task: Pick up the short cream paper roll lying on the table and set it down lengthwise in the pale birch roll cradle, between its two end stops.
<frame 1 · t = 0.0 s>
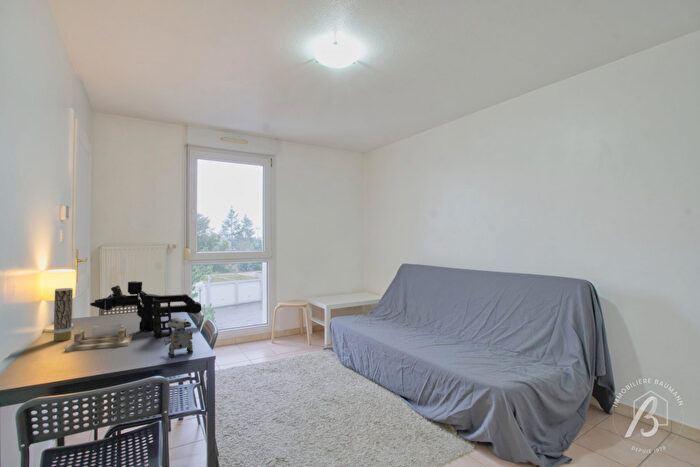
hand: (92, 302, 185), 17 cm above the table, tool horizontal, fingers open, 9 cm apart
paper roll: (107, 337, 181), on the table
holder: (161, 337, 181), on the table
bark textured pillar: (62, 340, 175), on the table
figurine: (178, 354, 156), on the table
roll cradle: (101, 344, 168), on the table
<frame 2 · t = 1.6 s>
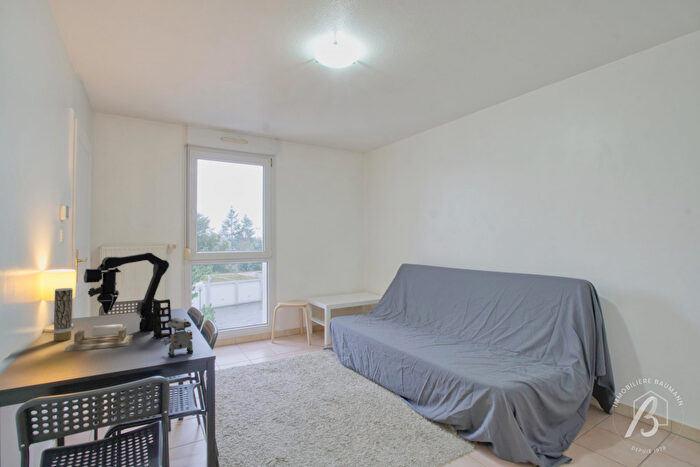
hand: (108, 312, 181), 13 cm above the table, tool pointing down, fingers open, 9 cm apart
nothing on the table moved.
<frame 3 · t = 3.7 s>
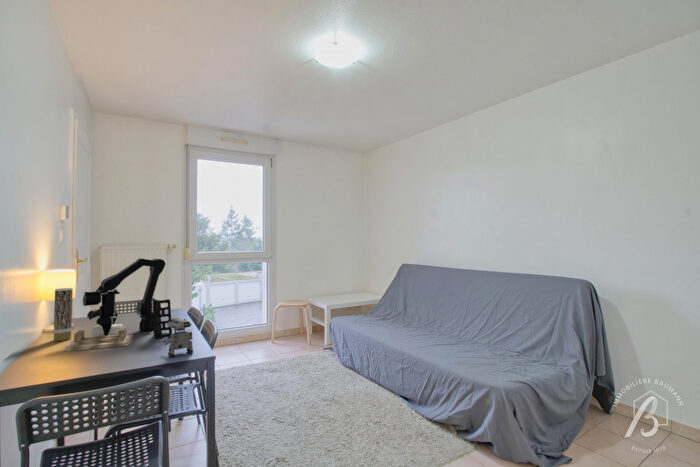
hand: (107, 334, 181), 1 cm above the table, tool pointing down, fingers closed on paper roll, 6 cm apart
paper roll: (107, 336, 181), on the table, touching gripper
everything else where it was.
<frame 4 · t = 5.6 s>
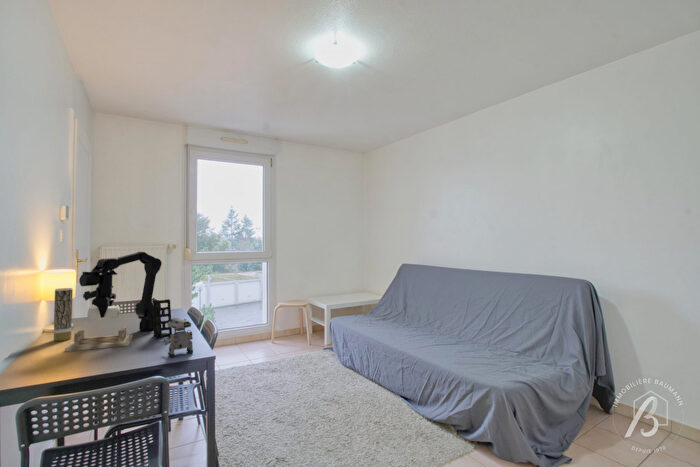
hand: (103, 316, 174), 12 cm above the table, tool pointing down, fingers closed on paper roll, 6 cm apart
paper roll: (103, 319, 174), point 11 cm above the table, touching gripper
everything else where it was.
when the fingers open (5 cm above the table, at t = 8.0 s): paper roll drops 2 cm, resting on roll cradle.
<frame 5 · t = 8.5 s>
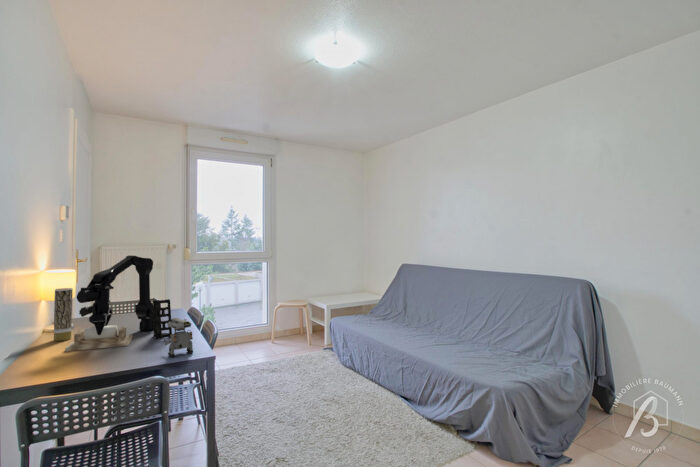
hand: (101, 332, 168), 5 cm above the table, tool pointing down, fingers open, 9 cm apart
paper roll: (101, 339, 168), point 2 cm above the table, touching roll cradle
everything else where it was.
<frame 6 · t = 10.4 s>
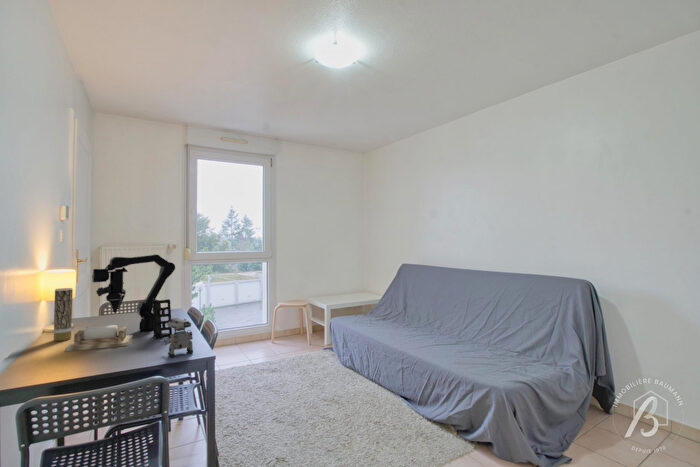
hand: (116, 310, 185), 12 cm above the table, tool pointing down, fingers open, 9 cm apart
nothing on the table moved.
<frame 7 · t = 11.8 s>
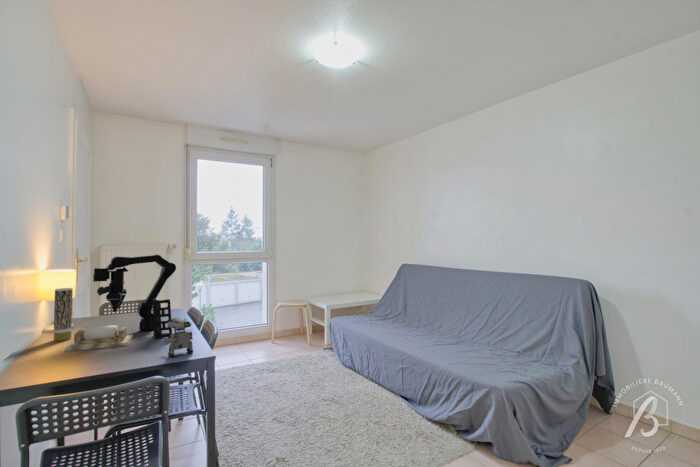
hand: (116, 310, 186), 13 cm above the table, tool pointing down, fingers open, 9 cm apart
nothing on the table moved.
at the end: paper roll 0.1 cm off-centre on the roll cradle, point 2.4 cm above the roll cradle's base; the gripper is holding nothing; paper roll touching roll cradle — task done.
